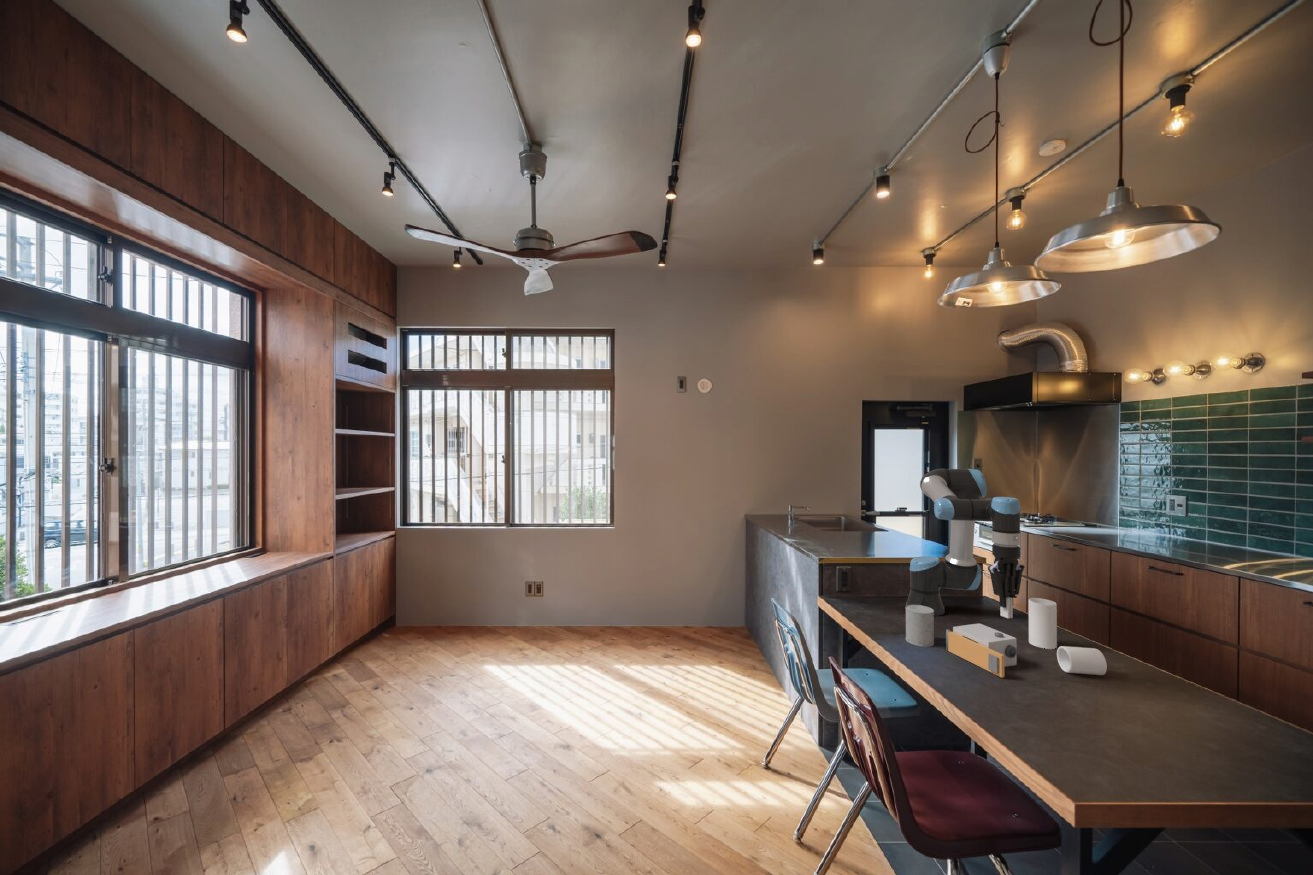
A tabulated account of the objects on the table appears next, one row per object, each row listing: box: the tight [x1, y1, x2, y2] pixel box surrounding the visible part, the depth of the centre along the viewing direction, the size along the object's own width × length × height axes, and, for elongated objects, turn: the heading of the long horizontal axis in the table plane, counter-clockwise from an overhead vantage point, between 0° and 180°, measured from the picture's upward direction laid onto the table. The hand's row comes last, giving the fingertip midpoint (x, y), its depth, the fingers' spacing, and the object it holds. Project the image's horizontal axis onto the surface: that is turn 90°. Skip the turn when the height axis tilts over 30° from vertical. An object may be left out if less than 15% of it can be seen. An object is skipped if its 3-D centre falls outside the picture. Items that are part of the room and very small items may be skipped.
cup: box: [1028, 597, 1058, 650], centre depth 183 cm, size 8×8×16 cm
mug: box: [1056, 645, 1108, 676], centre depth 164 cm, size 12×10×8 cm
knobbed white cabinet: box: [952, 622, 1017, 668], centre depth 172 cm, size 15×12×10 cm
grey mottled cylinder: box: [905, 605, 935, 648], centre depth 187 cm, size 10×10×12 cm
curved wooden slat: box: [945, 628, 1005, 678], centre depth 168 cm, size 22×2×7 cm, turn 15°
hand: (1006, 616), depth 161 cm, fingers closed
